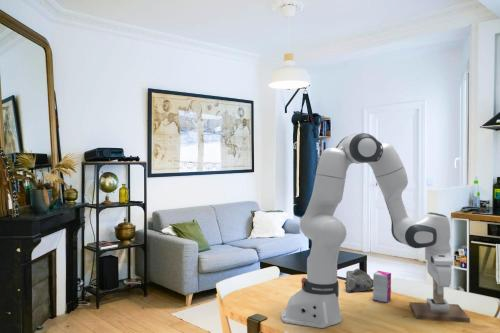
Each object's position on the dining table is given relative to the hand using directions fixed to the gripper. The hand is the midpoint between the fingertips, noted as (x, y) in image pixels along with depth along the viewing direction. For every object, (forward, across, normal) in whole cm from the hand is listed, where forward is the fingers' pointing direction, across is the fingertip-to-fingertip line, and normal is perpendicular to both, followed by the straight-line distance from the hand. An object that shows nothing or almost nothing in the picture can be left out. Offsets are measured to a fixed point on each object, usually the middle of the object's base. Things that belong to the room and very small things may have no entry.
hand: (438, 291), depth 156 cm
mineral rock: (+8, -23, -27) cm, 37 cm away
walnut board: (+8, 0, 0) cm, 8 cm away
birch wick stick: (+4, 0, 0) cm, 4 cm away
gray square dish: (+7, 0, 0) cm, 7 cm away
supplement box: (+8, -12, -19) cm, 24 cm away
